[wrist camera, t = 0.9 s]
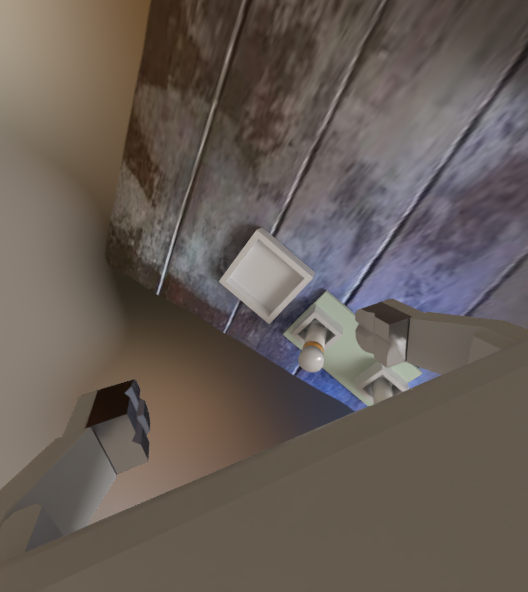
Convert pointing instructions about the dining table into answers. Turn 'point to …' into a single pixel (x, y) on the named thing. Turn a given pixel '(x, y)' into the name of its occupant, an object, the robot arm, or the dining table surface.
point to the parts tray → (266, 275)
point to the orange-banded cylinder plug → (313, 347)
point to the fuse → (381, 389)
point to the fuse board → (348, 350)
